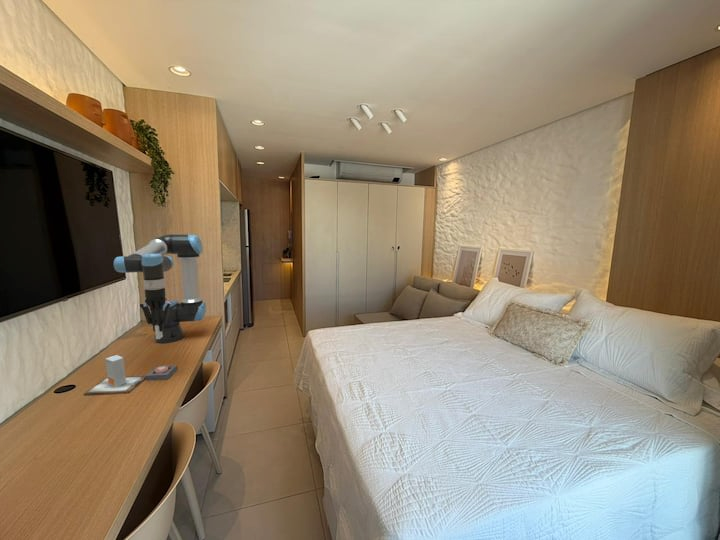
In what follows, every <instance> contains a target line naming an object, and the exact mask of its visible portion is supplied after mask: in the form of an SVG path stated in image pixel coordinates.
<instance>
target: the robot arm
mask: <svg viewBox="0 0 720 540" xmlns="http://www.w3.org/2000/svg"><path fill="white" fill-rule="evenodd" d="M200 238H201V237H200V236H198V235H196V234H173V233H172V234H165V235H161V236H158V237H156V238H153V239H151V240H150V241H149V242H148V243H147V244H146V245H145V246H144V247H141V248H139V249H138V250H136V251H135V252H132V253H131V254H129V255H127V256H125V255H122V256H121V255H120V256H117V257H115V258H114V260H113V268H114V270H115V271H116V272H118V273H126V274H127V273H142V274H143V287H144V297H145V300H144V302H142V303H140V304H139V307H140V309H142V312H143V314H144V317H145V320H146V323H147V324H148V325H151V326H152V330H153V333H154V332H155V333H154V334H155V336H154V342H155V343H158V344H159V343H160V344H168V343H173V342H177V341H180V340H182V339H183V338H184V337H185V334H184V331H183V329H182V327H181V324H180V323H185V322H198V321H199V322H200V321H203V320H204V318H205V315H206V311H207V303H206V302H205V301H203V297H200V288H199V287H200V285H199V284H200V283H199V270H198V259H199V258H200V255H201V254H203V244H202V240H201V239H200ZM169 255H176V256H177V257H176V258H177V259H179V260H180V268H181V270H180V271H181V280H182V281H181V282H182V293H183V294H182V295H183V298H182V299H181V300H180V302H179V301H178V300H169V301H168V300H167V298H166V288H165V287H166V283H165V272H168V271H170V270H171V269H172V268H173V267H174V265H175V263H174V262H175V261H174V259H173V258H172V257H171V256H169Z"/></svg>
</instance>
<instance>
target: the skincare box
mask: <svg viewBox="0 0 720 540" xmlns="http://www.w3.org/2000/svg"><path fill="white" fill-rule="evenodd" d="M105 365H106V366H105V367H106V374H107V375H106V376H107V377H108V384H110V385H112V386H114V387H118V386H120V385H123V384H125V383H126V377H127V376H126V368H125V359H124V357H122V356H121V355H118V354H115V355H112V356H109V357H106V358H105Z"/></svg>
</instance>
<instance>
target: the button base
mask: <svg viewBox="0 0 720 540" xmlns="http://www.w3.org/2000/svg"><path fill="white" fill-rule="evenodd" d="M159 366H160V365H157V366H155V368H153V369H152V370H151V371H150V372H148V373H147V374H146V375H145V376H146V379H145V381H148V382H149V381H165V380H166V381H167V380H169V379H170V378H171V377H172V376H173V375H174V374H175V373H176V372H177V371H178V365H167V366H168V371H167V372H166V373H155V369H156V368H157V367H159Z"/></svg>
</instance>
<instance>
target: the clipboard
mask: <svg viewBox="0 0 720 540" xmlns="http://www.w3.org/2000/svg"><path fill="white" fill-rule="evenodd" d="M144 381H146V375H134V376H133V375H132V376H130V375H129V376H126V383H125V384H123V385H120V386H118V387H114V386H112V385H110V384H108V376H107V377H106V378H103V380H101V381H100V382H99V383H97V384H95V385H93V386H92V387H91V388H90V389H88V390H87V391H85V392H84V393H83V396H98V395H99V396H100V395H101V396H102V395H118V394H119V395H121V394H122V395H123V394H130V393H131V392H132V391H133V390H135V388H137V387H138V386H139V385H141V384H142V383H143V382H144Z"/></svg>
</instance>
